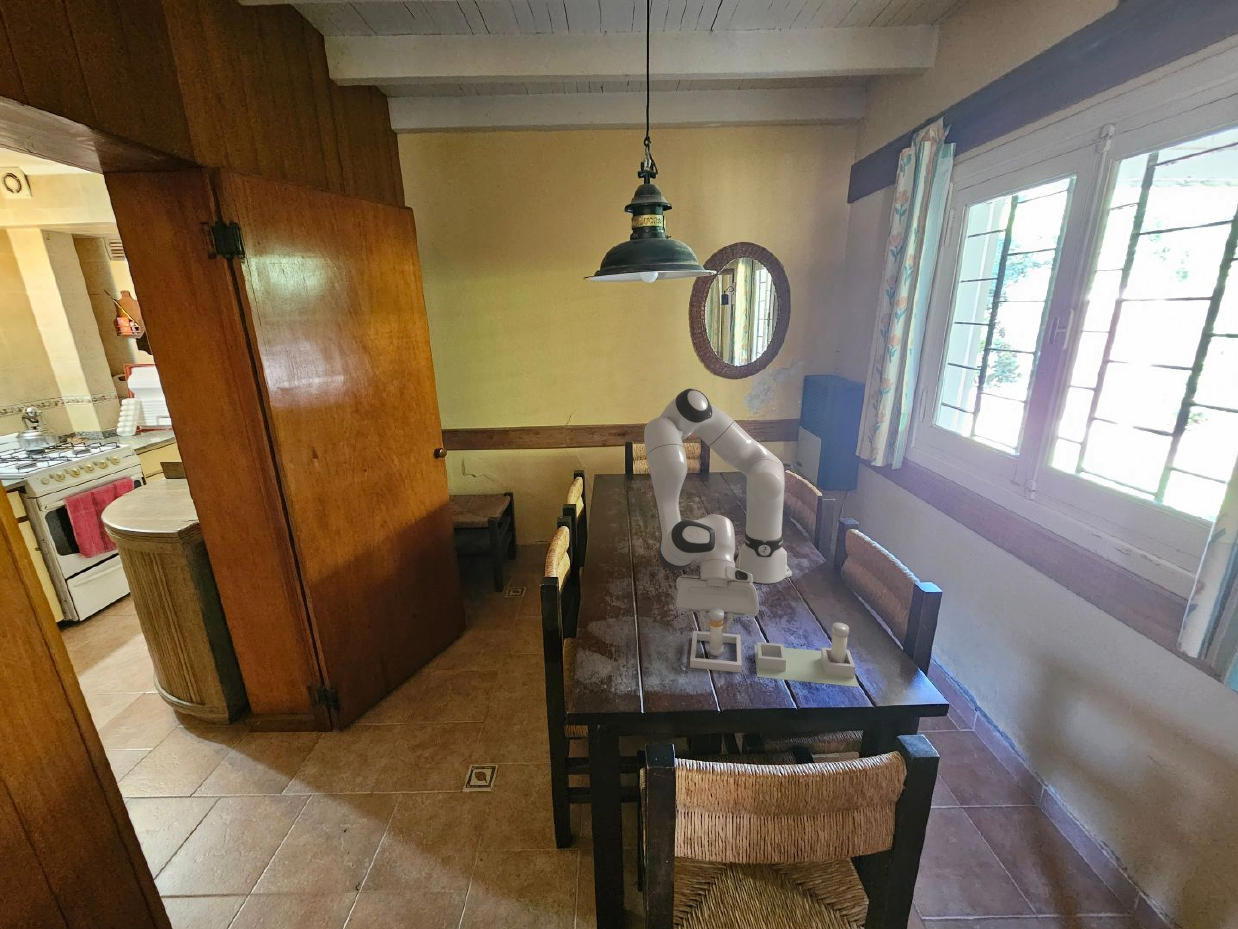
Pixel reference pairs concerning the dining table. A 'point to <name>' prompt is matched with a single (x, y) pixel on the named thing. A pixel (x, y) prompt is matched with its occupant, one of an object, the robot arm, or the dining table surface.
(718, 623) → the orange-banded cylinder plug
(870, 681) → the dining table surface
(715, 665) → the parts tray
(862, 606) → the dining table surface
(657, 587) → the dining table surface
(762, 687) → the dining table surface
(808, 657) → the fuse board
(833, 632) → the peg
